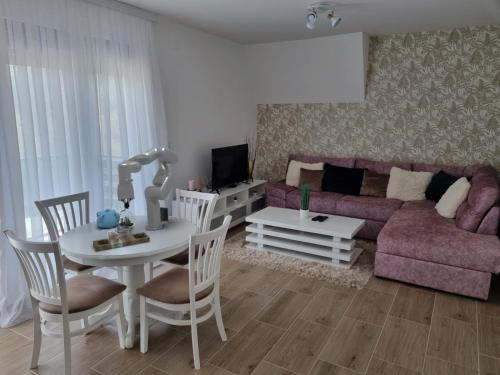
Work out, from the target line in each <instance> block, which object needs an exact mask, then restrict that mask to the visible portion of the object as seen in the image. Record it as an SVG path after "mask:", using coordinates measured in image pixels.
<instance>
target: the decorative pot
mask: <svg viewBox="0 0 500 375" xmlns="http://www.w3.org/2000/svg"><path fill="white" fill-rule="evenodd" d="M96 218H97V219H96V225H97V226H98V227H99V228H101V229H103V228H107V229H112V228H113V227H116V226H118V225H119V218H121V216H120V213H119V212H117V210H116V209H114V208H113V209H110V208H105V209H104V210H101V211H97V212H96Z"/></svg>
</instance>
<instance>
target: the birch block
mask: <svg viewBox="0 0 500 375" xmlns="http://www.w3.org/2000/svg"><path fill="white" fill-rule="evenodd" d="M107 235H108V238H109V241H110V242H111V243H112V242H118V241H119V236H120V235H119V233H118V231H110V232H108V233H107Z"/></svg>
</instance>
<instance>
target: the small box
mask: <svg viewBox="0 0 500 375" xmlns="http://www.w3.org/2000/svg"><path fill="white" fill-rule="evenodd" d="M160 217H161V221H164V222H165V221H167V222H168V221H169V208H168V207H162V206H160Z"/></svg>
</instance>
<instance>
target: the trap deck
mask: <svg viewBox="0 0 500 375" xmlns="http://www.w3.org/2000/svg"><path fill="white" fill-rule="evenodd" d="M150 242H151V238H150V236H149V235H148V234H146V232H145V231H143V232H137V233H131V234H125V235H119V241H118V242H112V243H111V242H110V241H109V237H106V238H102V239H97V240H92V246H93V247H94V250H95V251H96V252H103V251H108V250H114V249H119V248H123V247H130V246H134V245H141V244H145V243H150Z"/></svg>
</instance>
